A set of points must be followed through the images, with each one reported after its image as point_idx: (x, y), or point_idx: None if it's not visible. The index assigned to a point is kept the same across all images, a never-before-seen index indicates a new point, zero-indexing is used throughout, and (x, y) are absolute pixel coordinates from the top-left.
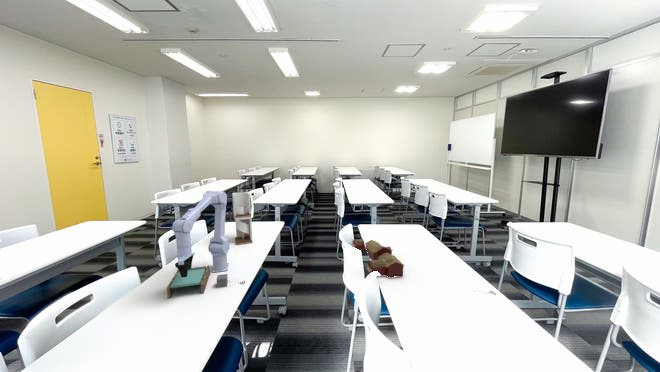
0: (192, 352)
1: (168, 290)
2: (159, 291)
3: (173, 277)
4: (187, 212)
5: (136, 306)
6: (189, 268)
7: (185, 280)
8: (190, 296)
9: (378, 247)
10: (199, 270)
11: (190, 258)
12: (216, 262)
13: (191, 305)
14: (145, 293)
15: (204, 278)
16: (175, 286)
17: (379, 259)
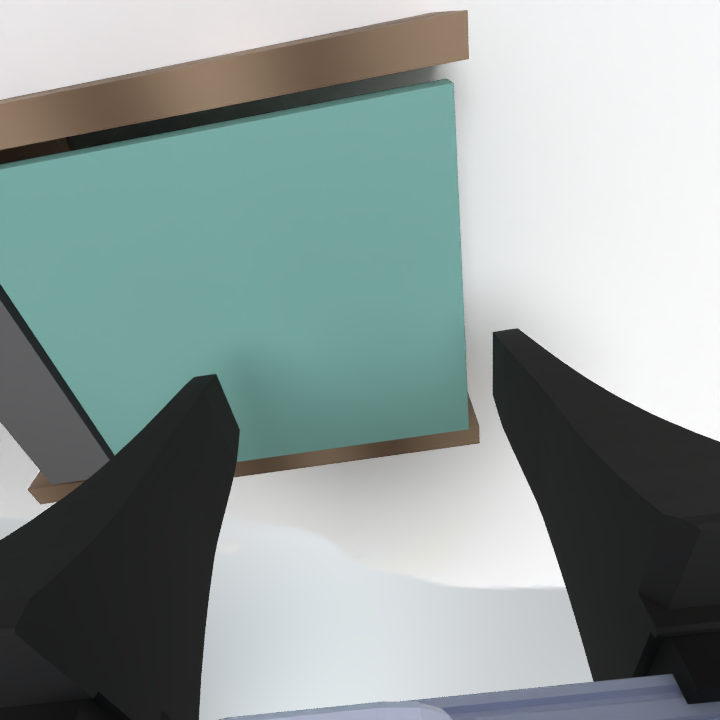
0: None
1: (473, 413)
2: (325, 466)
3: (243, 473)
4: None
5: (506, 502)
6: (219, 398)
7: (351, 332)
8: (467, 176)
9: None
10: (24, 256)
11: (127, 561)
12: None
13: (683, 81)
14: (344, 525)
15: (275, 54)
16: (464, 383)
17: None
